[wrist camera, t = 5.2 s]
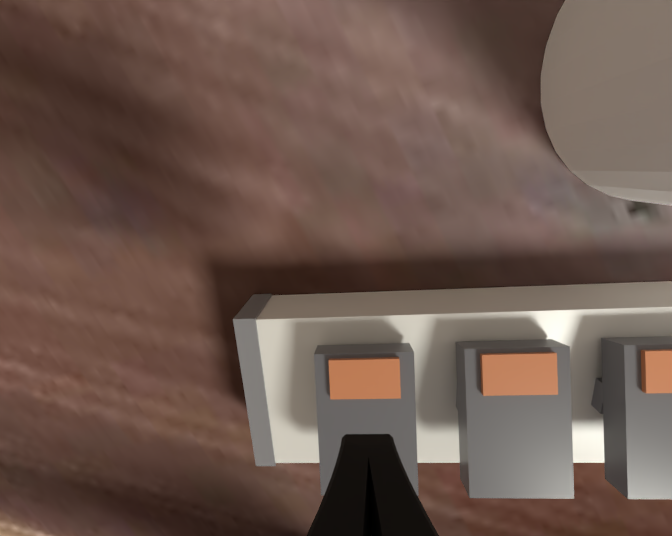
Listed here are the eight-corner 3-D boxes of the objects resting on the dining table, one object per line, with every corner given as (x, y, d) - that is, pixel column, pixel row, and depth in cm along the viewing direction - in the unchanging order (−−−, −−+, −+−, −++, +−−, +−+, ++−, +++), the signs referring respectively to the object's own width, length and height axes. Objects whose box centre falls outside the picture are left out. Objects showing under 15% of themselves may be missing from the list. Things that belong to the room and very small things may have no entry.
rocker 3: (706, 478, 14) (745, 503, 12) (604, 478, 14) (632, 502, 13) (703, 335, 14) (742, 343, 12) (601, 337, 14) (628, 346, 12)
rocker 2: (555, 478, 14) (577, 502, 13) (460, 478, 14) (471, 501, 13) (551, 339, 14) (573, 347, 13) (455, 341, 14) (465, 350, 13)
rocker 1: (413, 475, 15) (419, 499, 13) (324, 475, 15) (320, 498, 14) (409, 342, 14) (414, 353, 13) (317, 345, 15) (313, 355, 13)
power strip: (800, 417, 18) (907, 475, 14) (270, 422, 20) (253, 474, 16) (858, 272, 16) (1000, 300, 12) (253, 294, 18) (228, 324, 14)
